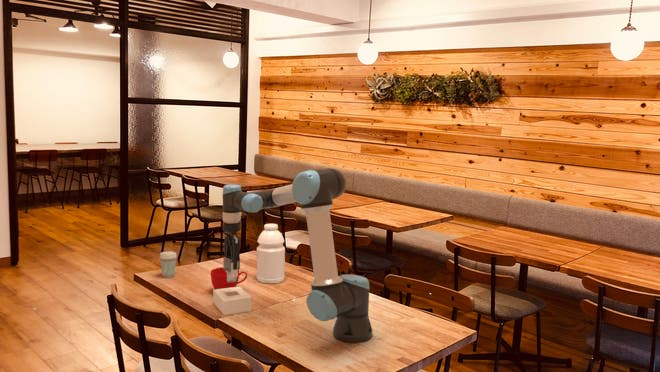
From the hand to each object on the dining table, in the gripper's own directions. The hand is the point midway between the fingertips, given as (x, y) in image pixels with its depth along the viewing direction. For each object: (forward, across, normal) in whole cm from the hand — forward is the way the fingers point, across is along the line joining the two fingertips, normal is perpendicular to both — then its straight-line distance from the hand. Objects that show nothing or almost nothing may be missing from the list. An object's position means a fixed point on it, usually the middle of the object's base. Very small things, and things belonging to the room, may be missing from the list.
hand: (231, 273), depth 247 cm
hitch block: (+15, 0, 0) cm, 15 cm away
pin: (+3, 0, 0) cm, 3 cm away
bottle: (+15, +29, -29) cm, 44 cm away
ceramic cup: (+15, +20, -5) cm, 26 cm away
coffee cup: (+15, +54, +16) cm, 59 cm away
